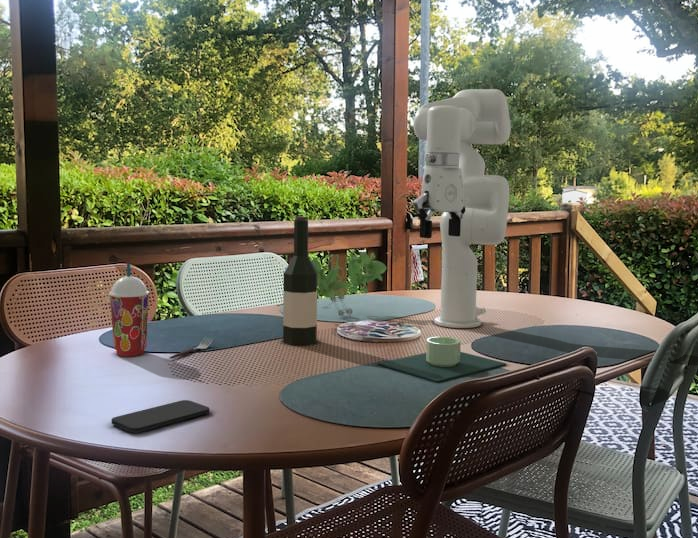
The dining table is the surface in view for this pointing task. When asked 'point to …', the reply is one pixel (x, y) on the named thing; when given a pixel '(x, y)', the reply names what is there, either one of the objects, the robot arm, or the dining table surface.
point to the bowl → (443, 351)
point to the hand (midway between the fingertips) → (440, 236)
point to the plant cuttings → (353, 268)
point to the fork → (194, 348)
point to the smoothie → (129, 315)
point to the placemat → (436, 373)
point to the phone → (159, 416)
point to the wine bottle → (300, 291)
